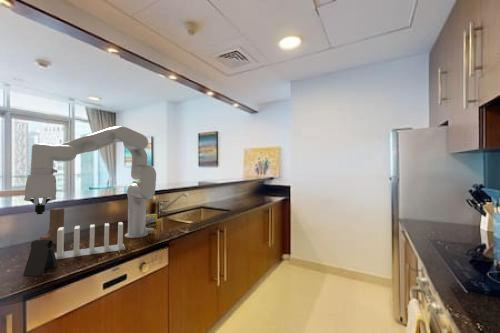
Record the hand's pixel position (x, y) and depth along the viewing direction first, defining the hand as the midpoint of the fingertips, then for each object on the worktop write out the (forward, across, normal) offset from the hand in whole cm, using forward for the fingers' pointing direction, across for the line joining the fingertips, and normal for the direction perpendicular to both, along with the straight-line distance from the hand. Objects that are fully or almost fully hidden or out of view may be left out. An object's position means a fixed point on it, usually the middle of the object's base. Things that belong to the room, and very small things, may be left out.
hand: (39, 213), depth 105 cm
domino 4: (+19, -26, 0) cm, 32 cm away
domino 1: (+19, -8, 0) cm, 21 cm away
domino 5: (+19, -32, 0) cm, 37 cm away
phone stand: (+20, -4, +16) cm, 26 cm away
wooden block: (+20, -2, -24) cm, 32 cm away
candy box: (+19, -50, -40) cm, 67 cm away
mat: (+20, -19, 0) cm, 27 cm away
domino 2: (+19, -14, 0) cm, 24 cm away
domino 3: (+19, -20, 0) cm, 27 cm away
